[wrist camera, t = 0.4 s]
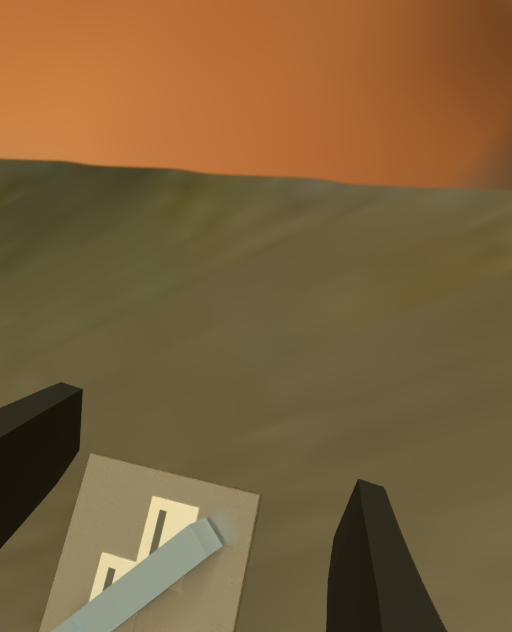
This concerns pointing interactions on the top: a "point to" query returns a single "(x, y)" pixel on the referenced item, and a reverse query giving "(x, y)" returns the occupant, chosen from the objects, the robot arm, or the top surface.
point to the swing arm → (145, 580)
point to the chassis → (125, 538)
